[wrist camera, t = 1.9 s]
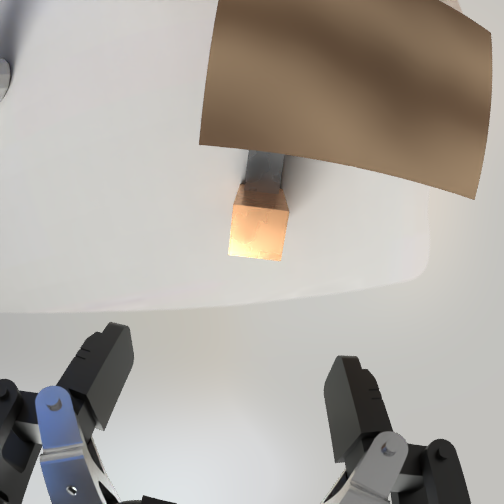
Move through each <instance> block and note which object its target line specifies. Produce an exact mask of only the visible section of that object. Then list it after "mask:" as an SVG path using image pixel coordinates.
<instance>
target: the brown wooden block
mask: <svg viewBox="0 0 504 504" xmlns="http://www.w3.org/2000/svg"><path fill="white" fill-rule="evenodd" d="M491 93H492V42H491V33H490V32H489V31H488V30H486V29H485V28H483V27H482V26H480V25H479V24H477V23H476V22H474V21H473V20H471V19H470V18H468V17H467V16H465V15H463V14H462V13H460V12H458V11H457V10H455V9H453V8H452V7H450V6H448V5H446V4H444V3H443V2H441V1H439V0H219V1H218V6H217V12H216V18H215V23H214V29H213V35H212V42H211V48H210V55H209V62H208V69H207V77H206V84H205V92H204V101H203V110H202V119H201V129H200V140H199V145H208V146H220V147H228V148H238V149H247V150H256V151H264V152H271V153H279V154H286V155H292V156H299V157H305V158H311V159H316V160H322V161H327V162H333V163H338V164H343V165H348V166H354V167H357V168H362V169H366V170H371V171H375V172H379V173H384V174H388V175H392V176H396V177H400V178H403V179H407V180H411V181H414V182H418V183H422V184H425V185H429V186H432V187H435V188H439V189H442V190H445V191H448V192H452V193H455V194H458V195H461V196H464V197H467V198H470V199H473V200H474V199H475V196H476V192H477V188H478V183H479V179H480V174H481V170H482V164H483V160H484V154H485V148H486V142H487V135H488V126H489V118H490V108H491Z"/></svg>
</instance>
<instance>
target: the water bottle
mask: <svg viewBox="0 0 504 504" xmlns="http://www.w3.org/2000/svg"><path fill="white" fill-rule="evenodd" d="M10 76H11V75H10V67H9V64H8V63H7V62H6V61H5V60H4V59H3V58H0V101H1V100H2V99H3V98H4V95H5V93H6V91H7V89H8V86H9V80H10Z"/></svg>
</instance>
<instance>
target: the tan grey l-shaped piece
mask: <svg viewBox="0 0 504 504" xmlns="http://www.w3.org/2000/svg"><path fill="white" fill-rule="evenodd" d="M283 161H284V154H279V153H271V152H264V151H256V150H249V154H248V162H247V171H246V179H245V185H244V184H240V186H239V189H238V192H237V195H236V198H235V201H234V204H233V213H232V223H231V234H230V244H229V255H234V256H242V257H251V258H259V259H267V260H276V261H281V256H282V250H283V245H284V239H285V233H286V227H287V222H288V216H289V209H288V206H287V202H286V199H285V196H284V193H283V189H279V188H280V182H281V175H282V168H283Z"/></svg>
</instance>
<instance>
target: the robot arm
mask: <svg viewBox="0 0 504 504" xmlns="http://www.w3.org/2000/svg"><path fill="white" fill-rule="evenodd" d="M133 360H134V352H133V346H132V340H131V335H130V329H129V327H128V326H125V325H121V324H117V323H112V322H110V323H109V324H108V325H107V326H106V328H105V329H104V331H103V332H102V333H100V332H95V333H94V334H93V335H91V336H90V337H88V338H87V339H86V340H85V342H84V344H83V345H82V346H81V349H80V350H79V351H78V352H77V354H76V357H74V358H73V360H72V361H71V363H70V364H69V366H68V368H67V369H66V371H65V372H64V374H63V376H62V377H61V379H60V380H59V382H58V383H57V385H56V386H49V387H46V388H44V389H42V390H41V391H40V392H39V393H33V392H25V391H19V390H18V388H17V386H16V385H15V384H14V383H13V382H12V381H11V380H8V379H1V380H0V504H22V500H23V497H24V494H25V491H26V488H27V485H28V482H29V479H30V476H31V474H32V471H33V468H34V465H35V463H36V460H37V457H38V455H39V453H40V450H41V448H42V446H43V454H41V455H40V464H41V468H42V472H43V476H44V479H45V483H46V486H47V490H48V493H49V496H50V499H51V502H52V504H176V503H172V502H167V501H163V500H159V499H155V498H151V497H147V496H144V495H143V497H142V500H134V501H133V500H131V501H123V502H121V500H120V498H119V496H118V494H117V492H116V490H115V488H114V487H113V485H112V483H111V482H110V480H109V478H108V476H107V474H106V472H105V469H104V467H103V464H102V462H101V459H100V456H99V454H98V451H97V448H96V446H95V443H94V440H93V437H92V433H93V431H94V428H97V429H99V430H103V431H104V430H105V428H106V425H107V423H108V420H109V418H110V416H111V413H112V411H113V409H114V407H115V404H116V402H117V399H118V397H119V395H120V393H121V391H122V388H123V386H124V383H125V382H126V379H127V377H128V375H129V373H130V371H131V368H132V365H133ZM324 398H325V404H326V409H327V415H328V421H329V427H330V433H331V439H332V446H333V452H334V459H335V463H340V462H345V465H346V469H345V470H344V471H343V472H342V474H341V475H340V477H339V478H338V480H337V481H336V483H335V484H334V486H333V487H332V488H331V490H330V491H329V492H328V494H327V495H326V497H325V498H324V499H323V501H322V502H321V503H320V504H390V501H388V496H389V494H390V492H391V499H392V504H471V502H470V498H469V494H468V490H467V486H466V482H465V479H464V475H463V472H462V468H461V465H460V462H459V459H458V456H457V453H456V450H455V448H454V446H453V445H452V444H451V443H450V442H449V441H447V440H444V439H437V440H434V441H433V442H431V443H430V444H429V445H428V446H420V445H413V444H408V443H407V442H406V440H405V439H404V438H403V437H402V436H401V435H400V434H398V433H395V432H393V430H392V427H391V423H390V420H389V417H388V414H387V411H386V408H385V405H384V402H383V400H382V397H381V393H380V391H379V388H378V385H377V382H376V379H375V378H374V376H373V375H372V374H371V373H370V372H369V371H368V369H362V368H361V365H360V362H359V359H358V357H356V356H337V358H336V359H335V362H334V364H333V366H332V368H331V370H330V372H329V374H328V377H327V379H326V381H325V386H324Z"/></svg>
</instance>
